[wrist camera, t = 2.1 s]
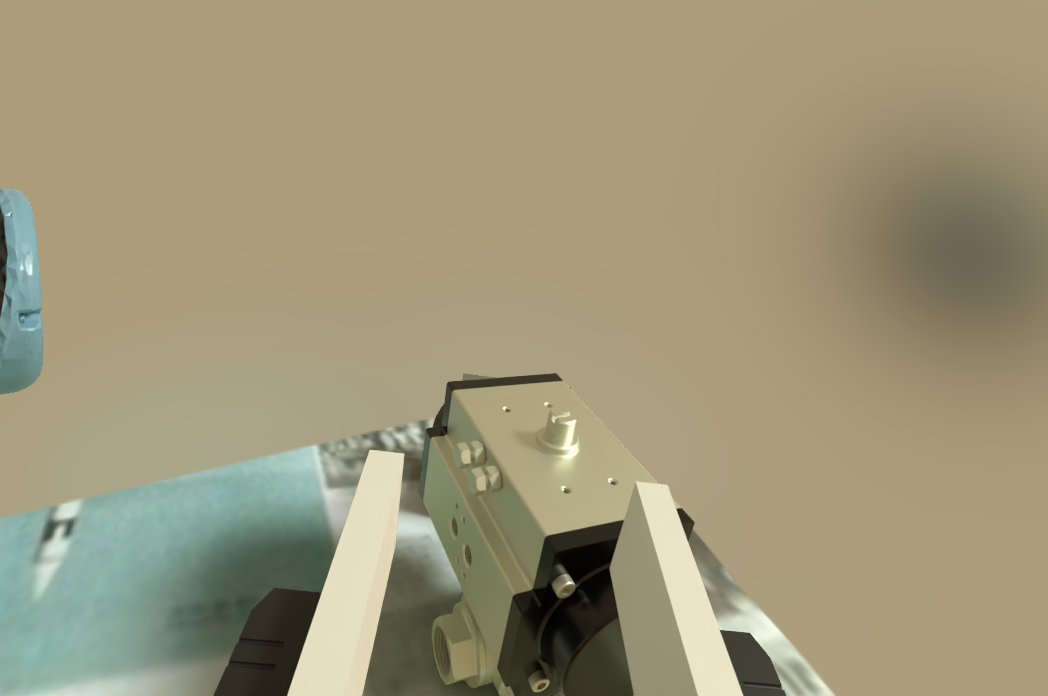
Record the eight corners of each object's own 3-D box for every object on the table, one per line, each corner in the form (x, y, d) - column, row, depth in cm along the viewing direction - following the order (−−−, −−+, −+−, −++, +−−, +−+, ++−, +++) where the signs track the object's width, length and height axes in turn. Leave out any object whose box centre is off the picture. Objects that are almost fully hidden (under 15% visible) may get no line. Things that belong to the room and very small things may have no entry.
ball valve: (393, 566, 44) (416, 338, 36) (504, 543, 47) (546, 332, 40) (489, 846, 30) (560, 567, 22) (637, 781, 33) (741, 525, 26)
